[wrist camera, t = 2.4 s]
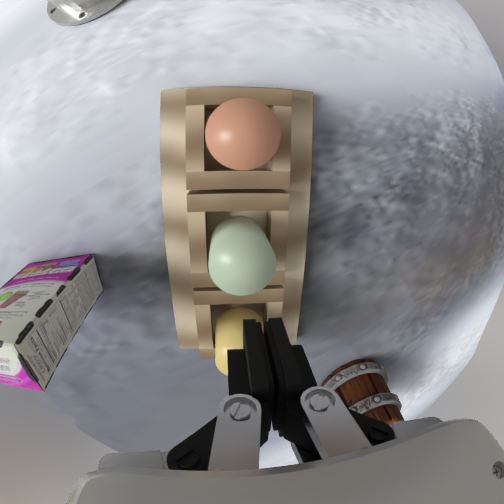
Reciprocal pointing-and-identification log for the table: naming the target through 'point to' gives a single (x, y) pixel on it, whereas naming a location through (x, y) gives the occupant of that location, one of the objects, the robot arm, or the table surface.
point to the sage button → (240, 256)
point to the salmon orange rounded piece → (243, 134)
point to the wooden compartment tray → (232, 207)
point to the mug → (365, 390)
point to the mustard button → (231, 333)
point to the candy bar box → (43, 317)
